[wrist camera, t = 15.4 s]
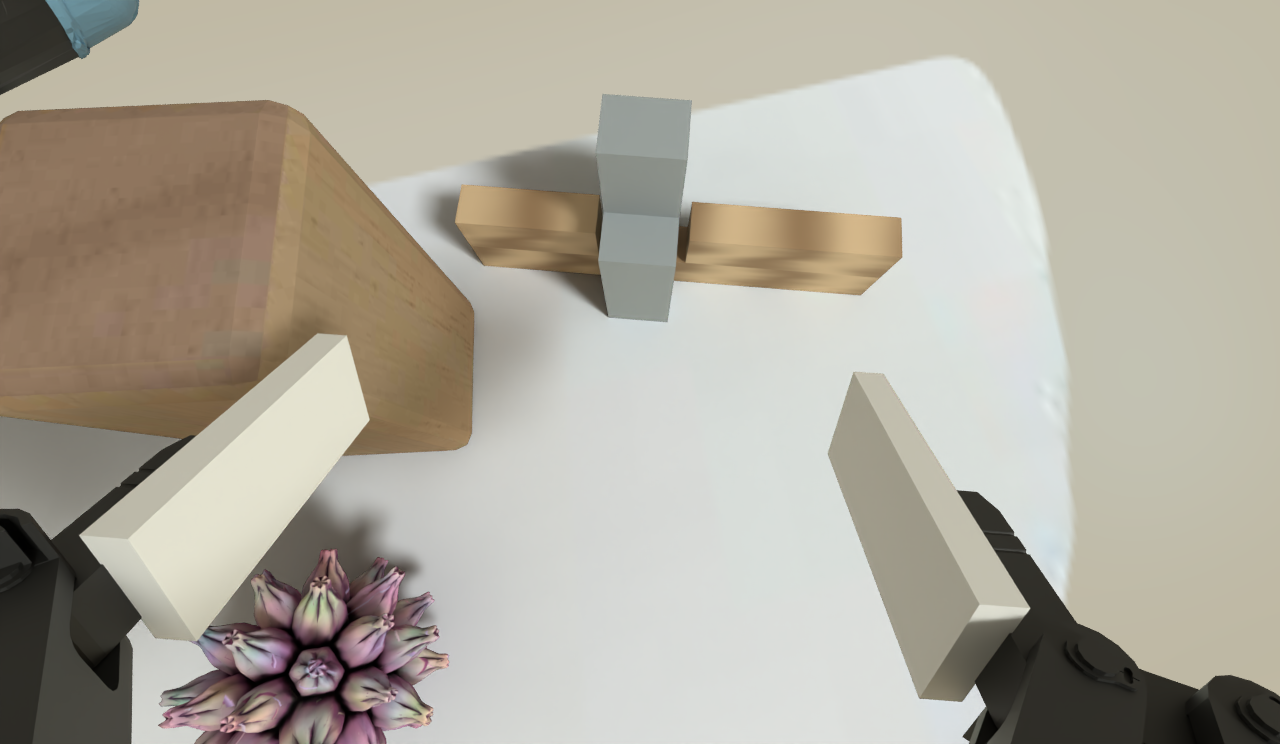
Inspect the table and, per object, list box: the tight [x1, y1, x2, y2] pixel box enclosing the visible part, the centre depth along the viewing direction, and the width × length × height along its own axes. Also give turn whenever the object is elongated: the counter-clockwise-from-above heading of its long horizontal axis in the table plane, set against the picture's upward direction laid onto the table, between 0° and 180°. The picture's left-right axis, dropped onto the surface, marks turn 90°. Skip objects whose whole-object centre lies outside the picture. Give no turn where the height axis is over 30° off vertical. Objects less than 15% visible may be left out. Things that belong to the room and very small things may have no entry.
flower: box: [158, 549, 449, 744], centre depth 26 cm, size 12×12×12 cm
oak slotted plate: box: [455, 185, 902, 295], centre depth 34 cm, size 26×2×6 cm, turn 85°
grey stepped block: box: [596, 94, 692, 322], centre depth 30 cm, size 8×4×14 cm, turn 175°
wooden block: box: [0, 100, 474, 456], centre depth 26 cm, size 10×10×20 cm
